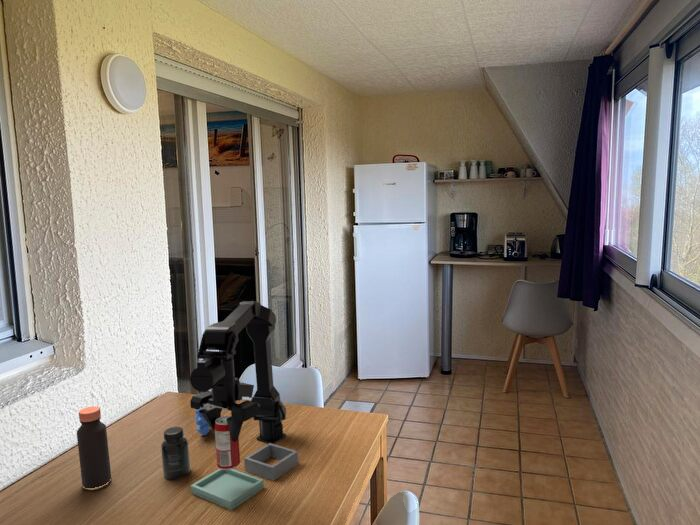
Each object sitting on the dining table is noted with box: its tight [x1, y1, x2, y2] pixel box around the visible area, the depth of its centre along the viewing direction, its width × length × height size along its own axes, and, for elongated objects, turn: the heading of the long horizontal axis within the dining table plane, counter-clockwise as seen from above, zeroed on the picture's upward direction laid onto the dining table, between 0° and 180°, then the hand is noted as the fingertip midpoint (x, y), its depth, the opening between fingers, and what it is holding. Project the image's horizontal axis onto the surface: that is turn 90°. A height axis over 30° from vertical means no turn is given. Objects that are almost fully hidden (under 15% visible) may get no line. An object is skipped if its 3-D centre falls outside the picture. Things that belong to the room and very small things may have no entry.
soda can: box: [214, 415, 241, 470], centre depth 130 cm, size 6×6×12 cm
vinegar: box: [76, 405, 112, 488], centre depth 135 cm, size 7×7×20 cm
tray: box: [190, 468, 265, 510], centre depth 131 cm, size 14×11×2 cm
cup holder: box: [243, 443, 299, 482], centre depth 141 cm, size 10×10×4 cm
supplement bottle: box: [160, 426, 191, 480], centre depth 139 cm, size 7×7×12 cm
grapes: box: [194, 408, 211, 436], centre depth 162 cm, size 12×7×12 cm, turn 8°
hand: (226, 438), depth 130 cm, fingers closed on soda can, 5 cm apart
